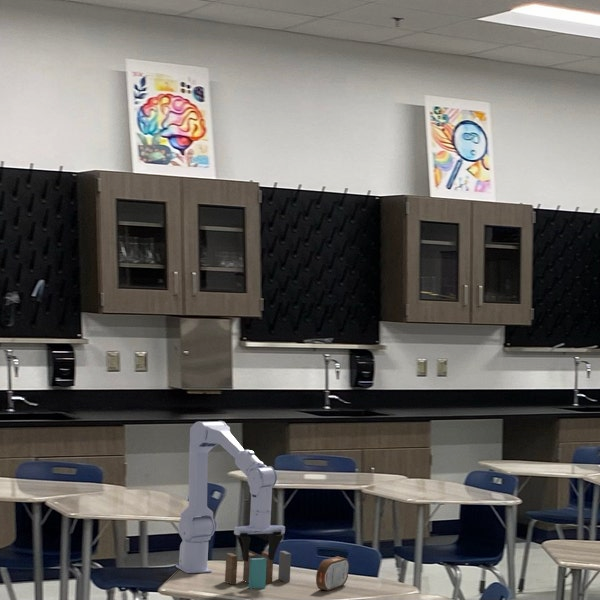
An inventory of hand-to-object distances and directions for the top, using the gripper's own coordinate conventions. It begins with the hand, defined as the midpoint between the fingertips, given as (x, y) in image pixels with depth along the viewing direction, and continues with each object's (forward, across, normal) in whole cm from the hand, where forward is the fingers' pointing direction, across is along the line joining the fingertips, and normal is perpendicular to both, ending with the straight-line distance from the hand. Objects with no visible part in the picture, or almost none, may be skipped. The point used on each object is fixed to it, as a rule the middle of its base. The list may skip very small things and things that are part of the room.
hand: (258, 560), depth 322 cm
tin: (+8, +21, -5) cm, 23 cm away
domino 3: (+8, +6, +7) cm, 12 cm away
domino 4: (+8, +12, +7) cm, 16 cm away
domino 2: (+8, 0, +7) cm, 10 cm away
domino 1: (+8, -5, +7) cm, 12 cm away
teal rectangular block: (+8, 0, 0) cm, 8 cm away
